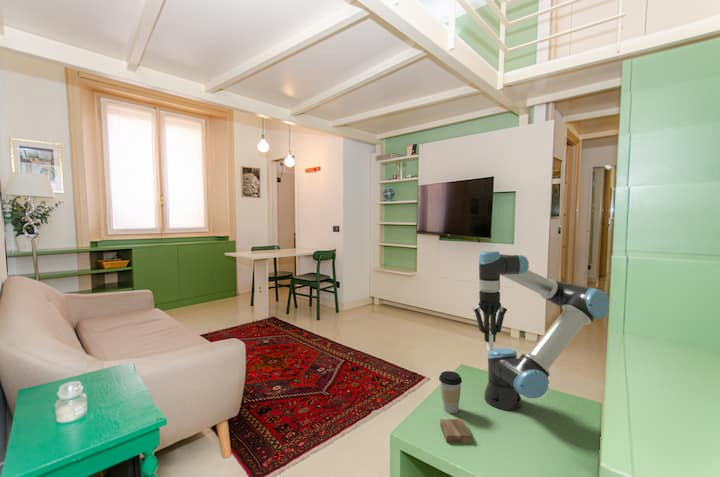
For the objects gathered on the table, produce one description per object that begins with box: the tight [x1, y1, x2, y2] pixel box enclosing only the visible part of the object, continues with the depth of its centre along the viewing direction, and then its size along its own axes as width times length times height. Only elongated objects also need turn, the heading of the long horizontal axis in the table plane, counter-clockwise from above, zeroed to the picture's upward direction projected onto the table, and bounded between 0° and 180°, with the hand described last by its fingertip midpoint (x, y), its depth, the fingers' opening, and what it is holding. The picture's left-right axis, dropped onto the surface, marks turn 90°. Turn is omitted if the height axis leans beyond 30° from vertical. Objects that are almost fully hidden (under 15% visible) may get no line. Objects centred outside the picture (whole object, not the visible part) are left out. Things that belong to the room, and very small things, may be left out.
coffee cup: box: [438, 370, 463, 415], centre depth 136 cm, size 9×9×15 cm
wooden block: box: [439, 418, 473, 444], centre depth 120 cm, size 3×10×9 cm
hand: (490, 349), depth 126 cm, fingers closed
